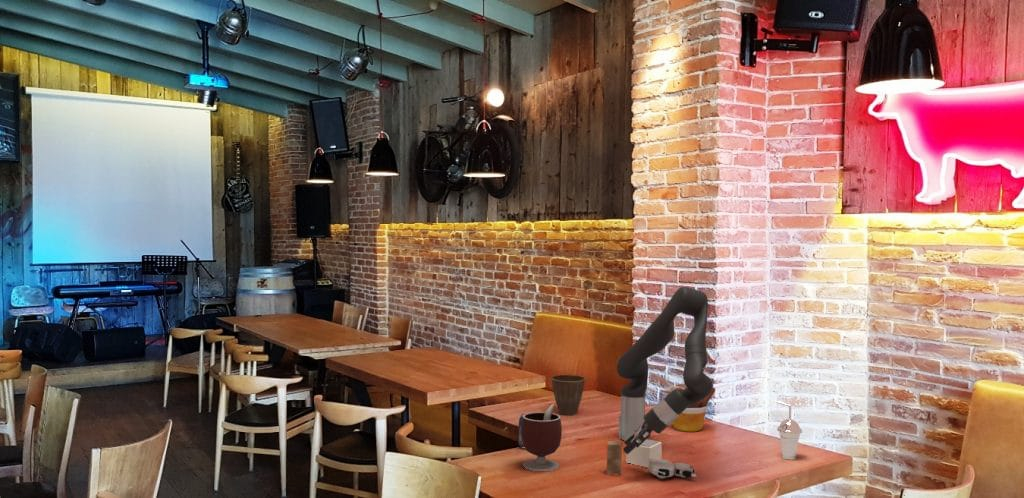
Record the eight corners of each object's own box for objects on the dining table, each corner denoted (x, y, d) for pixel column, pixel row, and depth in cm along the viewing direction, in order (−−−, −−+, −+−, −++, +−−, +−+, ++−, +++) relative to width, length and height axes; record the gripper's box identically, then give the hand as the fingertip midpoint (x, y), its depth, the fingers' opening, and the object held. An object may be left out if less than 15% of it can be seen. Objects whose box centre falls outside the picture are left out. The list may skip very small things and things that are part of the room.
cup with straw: (790, 462, 260) (791, 405, 260) (770, 455, 268) (771, 400, 268) (807, 459, 264) (807, 403, 264) (787, 452, 272) (787, 398, 272)
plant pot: (585, 417, 322) (586, 381, 322) (551, 417, 322) (552, 380, 322) (583, 410, 337) (583, 375, 337) (550, 409, 337) (550, 374, 337)
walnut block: (606, 474, 244) (607, 444, 244) (607, 470, 248) (608, 440, 248) (620, 475, 243) (620, 445, 243) (621, 471, 247) (621, 441, 247)
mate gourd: (548, 475, 242) (549, 414, 242) (512, 468, 250) (513, 409, 249) (570, 463, 255) (571, 406, 255) (535, 456, 263) (536, 400, 263)
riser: (626, 463, 257) (626, 442, 256) (638, 457, 264) (638, 437, 264) (649, 468, 251) (649, 447, 251) (661, 462, 258) (661, 441, 258)
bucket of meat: (664, 432, 299) (665, 383, 299) (663, 422, 315) (664, 376, 315) (715, 435, 295) (716, 385, 295) (711, 425, 312) (712, 378, 311)
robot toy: (690, 473, 249) (645, 469, 250) (691, 460, 249) (646, 455, 250) (697, 485, 237) (650, 480, 238) (698, 471, 237) (651, 467, 238)
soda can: (539, 445, 277) (539, 414, 277) (533, 450, 270) (534, 418, 270) (521, 444, 279) (522, 412, 279) (516, 448, 273) (516, 416, 273)
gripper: (653, 402, 250) (619, 434, 252) (652, 412, 236) (616, 445, 238) (669, 419, 249) (634, 450, 251) (669, 429, 235) (632, 463, 237)
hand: (625, 448), depth 245 cm, fingers open, 8 cm apart
